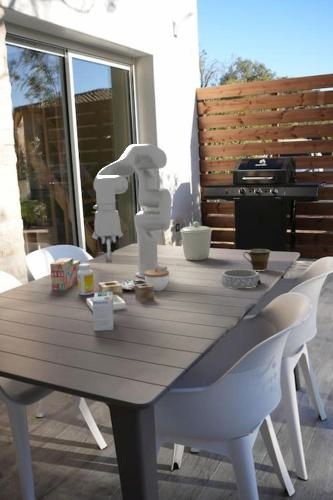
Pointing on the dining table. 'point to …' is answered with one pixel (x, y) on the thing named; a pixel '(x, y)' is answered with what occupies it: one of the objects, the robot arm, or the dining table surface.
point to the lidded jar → (157, 278)
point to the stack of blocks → (64, 273)
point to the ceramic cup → (259, 258)
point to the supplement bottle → (85, 280)
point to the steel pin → (108, 249)
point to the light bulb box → (103, 311)
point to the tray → (117, 303)
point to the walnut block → (144, 292)
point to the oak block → (111, 288)
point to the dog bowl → (240, 278)
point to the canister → (196, 241)
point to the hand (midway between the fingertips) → (108, 252)
